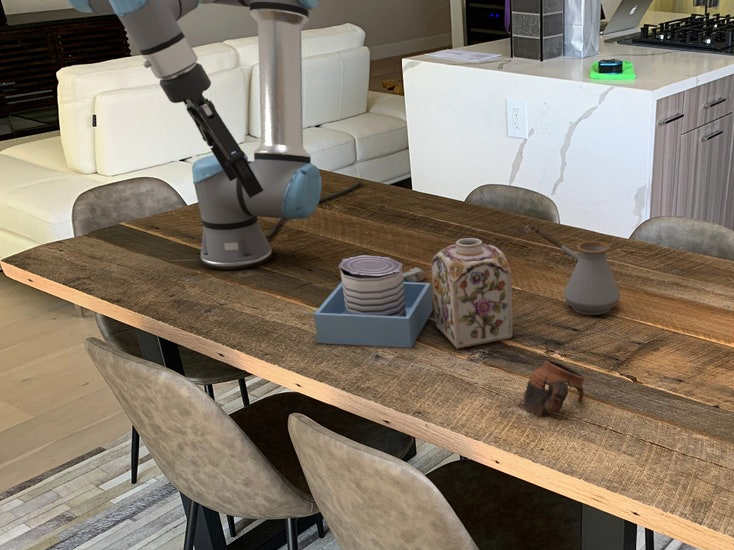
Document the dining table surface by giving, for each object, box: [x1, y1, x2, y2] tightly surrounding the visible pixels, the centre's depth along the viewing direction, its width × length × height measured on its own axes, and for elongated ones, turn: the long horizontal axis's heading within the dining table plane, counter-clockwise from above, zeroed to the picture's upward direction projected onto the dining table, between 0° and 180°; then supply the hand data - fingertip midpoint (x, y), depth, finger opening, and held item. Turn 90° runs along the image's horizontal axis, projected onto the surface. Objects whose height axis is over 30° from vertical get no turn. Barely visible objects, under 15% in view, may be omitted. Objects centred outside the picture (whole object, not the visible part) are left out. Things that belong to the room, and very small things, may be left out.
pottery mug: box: [521, 359, 585, 417], centre depth 139 cm, size 12×10×8 cm
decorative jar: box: [430, 237, 514, 350], centre depth 161 cm, size 12×12×18 cm
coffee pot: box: [524, 222, 621, 316], centre depth 175 cm, size 21×12×15 cm, turn 59°
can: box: [337, 254, 406, 317], centre depth 164 cm, size 11×11×12 cm
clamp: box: [402, 266, 425, 283], centre depth 184 cm, size 15×2×10 cm
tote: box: [313, 281, 434, 349], centre depth 166 cm, size 18×18×6 cm
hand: (246, 185), depth 158 cm, fingers open, 13 cm apart
